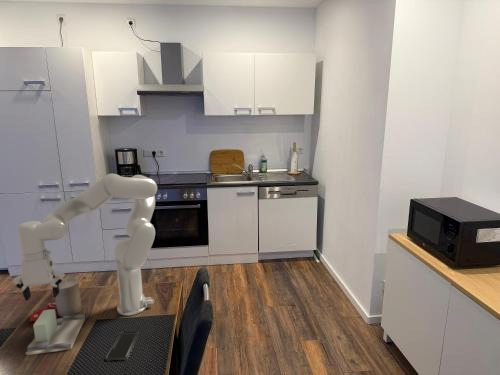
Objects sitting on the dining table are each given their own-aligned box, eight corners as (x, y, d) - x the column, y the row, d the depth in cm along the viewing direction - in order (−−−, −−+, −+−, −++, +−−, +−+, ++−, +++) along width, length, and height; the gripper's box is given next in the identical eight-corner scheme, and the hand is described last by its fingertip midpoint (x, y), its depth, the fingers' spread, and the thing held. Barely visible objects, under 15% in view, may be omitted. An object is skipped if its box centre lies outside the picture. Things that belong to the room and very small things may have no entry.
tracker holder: (59, 318, 140) (31, 321, 135) (57, 326, 142) (29, 329, 136) (58, 299, 150) (31, 301, 144) (56, 307, 151) (30, 309, 146)
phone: (139, 331, 132) (126, 358, 117) (140, 334, 132) (127, 361, 117) (119, 332, 132) (104, 359, 117) (120, 334, 132) (104, 362, 117)
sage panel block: (57, 326, 135) (54, 309, 133) (48, 343, 125) (45, 324, 124) (46, 328, 134) (43, 310, 132) (36, 344, 125) (33, 325, 123)
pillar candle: (83, 303, 153) (79, 273, 150) (80, 314, 144) (76, 283, 141) (59, 307, 150) (54, 276, 147) (55, 319, 141) (50, 287, 138)
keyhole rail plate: (85, 319, 141) (84, 314, 141) (71, 349, 123) (70, 343, 123) (46, 323, 138) (45, 318, 138) (26, 355, 120) (25, 349, 120)
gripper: (64, 248, 128) (70, 289, 132) (13, 253, 125) (21, 294, 129) (57, 256, 121) (64, 299, 125) (3, 261, 118) (12, 305, 121)
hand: (42, 297), depth 127 cm, fingers open, 9 cm apart
